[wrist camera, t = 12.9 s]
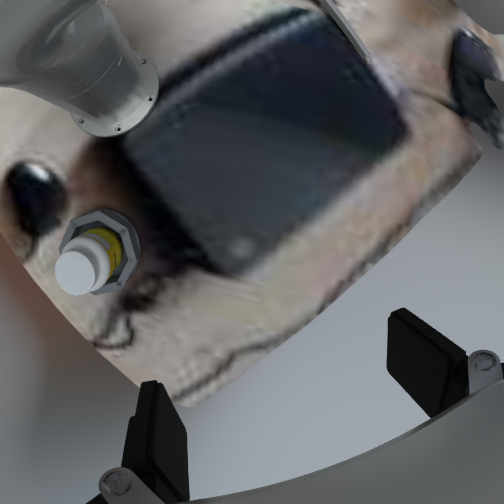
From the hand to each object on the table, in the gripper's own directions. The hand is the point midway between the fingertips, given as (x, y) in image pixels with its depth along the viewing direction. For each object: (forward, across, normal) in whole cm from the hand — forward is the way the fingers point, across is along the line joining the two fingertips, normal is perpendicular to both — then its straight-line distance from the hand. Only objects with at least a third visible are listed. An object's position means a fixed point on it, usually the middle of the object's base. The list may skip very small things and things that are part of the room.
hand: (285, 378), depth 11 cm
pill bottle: (+30, +16, -2) cm, 34 cm away
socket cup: (+30, +16, -2) cm, 34 cm away
